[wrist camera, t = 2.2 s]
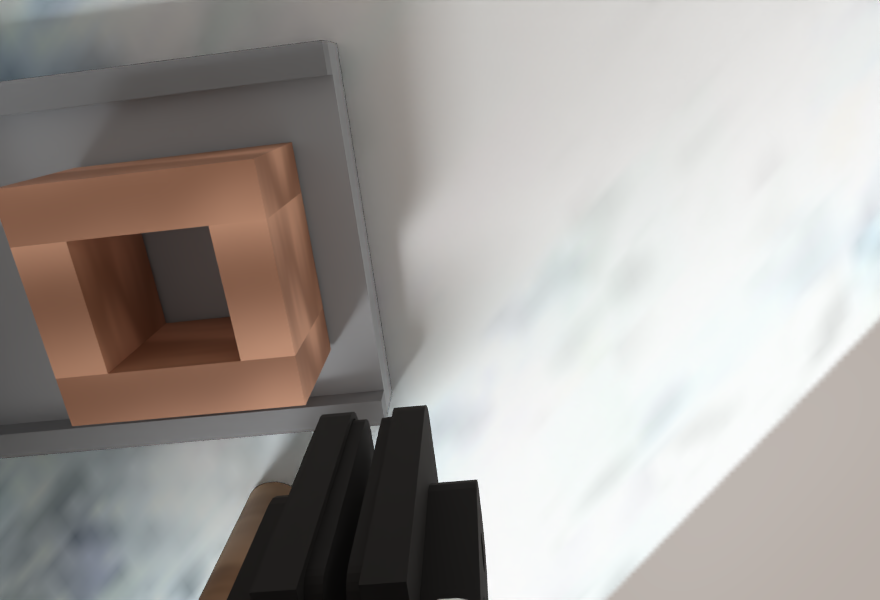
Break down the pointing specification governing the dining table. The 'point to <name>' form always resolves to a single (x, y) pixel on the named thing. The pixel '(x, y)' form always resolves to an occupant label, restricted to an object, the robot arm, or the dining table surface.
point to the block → (135, 294)
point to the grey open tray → (191, 249)
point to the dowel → (241, 540)
